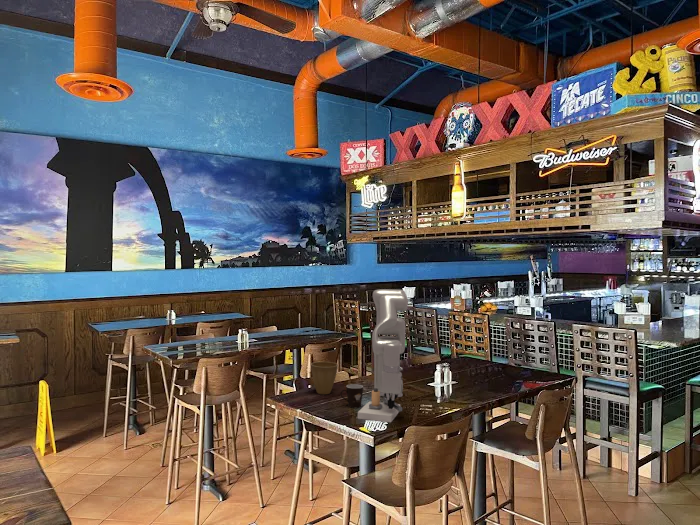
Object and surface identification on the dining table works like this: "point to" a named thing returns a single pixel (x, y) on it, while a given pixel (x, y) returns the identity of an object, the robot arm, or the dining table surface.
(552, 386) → the dining table surface
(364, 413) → the socket board
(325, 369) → the plant pot
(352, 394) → the coffee mug
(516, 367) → the dining table surface
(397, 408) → the clip
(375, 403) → the plug
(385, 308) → the robot arm
